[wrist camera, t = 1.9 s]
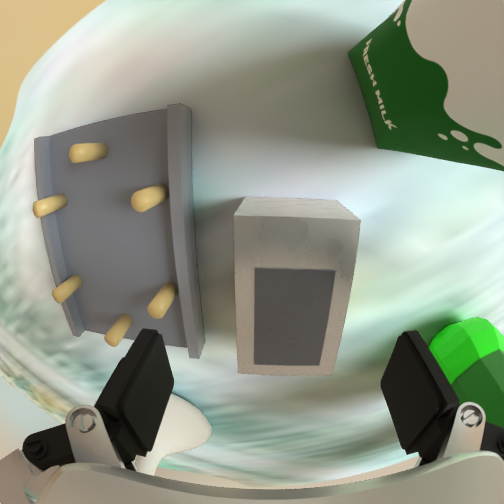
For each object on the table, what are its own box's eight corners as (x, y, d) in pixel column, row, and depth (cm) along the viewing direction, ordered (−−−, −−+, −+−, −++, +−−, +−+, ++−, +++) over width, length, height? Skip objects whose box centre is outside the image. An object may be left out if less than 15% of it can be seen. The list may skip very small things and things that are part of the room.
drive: (321, 326, 21) (332, 375, 16) (246, 324, 21) (237, 374, 16) (336, 199, 17) (361, 220, 12) (245, 196, 18) (232, 216, 12)
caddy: (205, 341, 22) (193, 374, 18) (84, 323, 23) (63, 346, 19) (191, 108, 16) (169, 98, 12) (51, 137, 16) (18, 140, 13)
